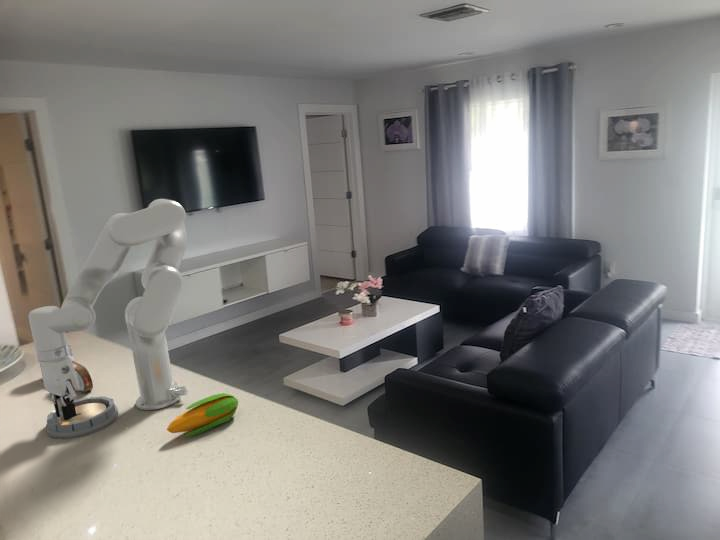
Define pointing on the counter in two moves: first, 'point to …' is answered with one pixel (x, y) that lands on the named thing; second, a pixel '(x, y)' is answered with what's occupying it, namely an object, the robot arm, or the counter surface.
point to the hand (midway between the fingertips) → (66, 415)
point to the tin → (83, 377)
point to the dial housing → (83, 426)
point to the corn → (205, 414)
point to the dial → (81, 411)
